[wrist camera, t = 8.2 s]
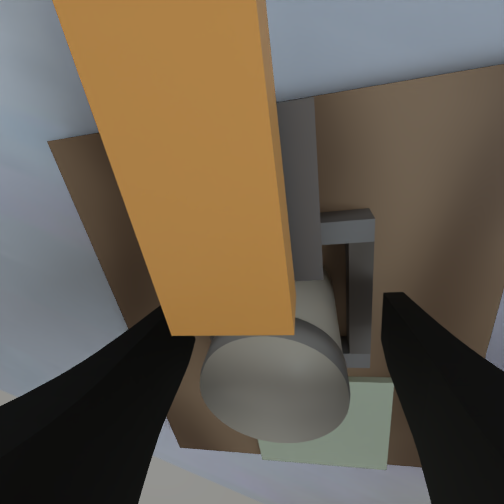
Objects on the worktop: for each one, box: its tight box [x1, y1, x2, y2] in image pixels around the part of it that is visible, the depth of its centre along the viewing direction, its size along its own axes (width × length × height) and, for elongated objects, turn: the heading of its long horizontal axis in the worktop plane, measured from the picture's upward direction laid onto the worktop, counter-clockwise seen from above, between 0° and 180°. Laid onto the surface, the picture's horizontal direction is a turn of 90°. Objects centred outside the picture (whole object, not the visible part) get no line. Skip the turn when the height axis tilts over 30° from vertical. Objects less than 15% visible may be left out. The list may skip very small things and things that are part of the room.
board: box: [47, 64, 504, 467], centre depth 11 cm, size 16×19×6 cm
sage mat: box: [258, 376, 394, 470], centre depth 16 cm, size 7×7×1 cm
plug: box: [200, 266, 351, 443], centre depth 10 cm, size 4×4×5 cm
